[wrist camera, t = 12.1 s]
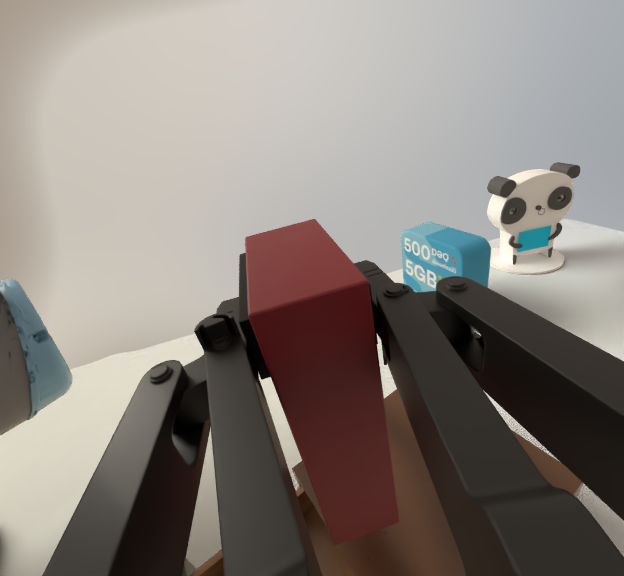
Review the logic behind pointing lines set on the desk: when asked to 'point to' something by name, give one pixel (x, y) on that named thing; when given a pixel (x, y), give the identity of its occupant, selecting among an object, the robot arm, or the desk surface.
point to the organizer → (419, 509)
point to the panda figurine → (530, 217)
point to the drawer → (327, 553)
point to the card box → (325, 371)
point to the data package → (442, 256)
